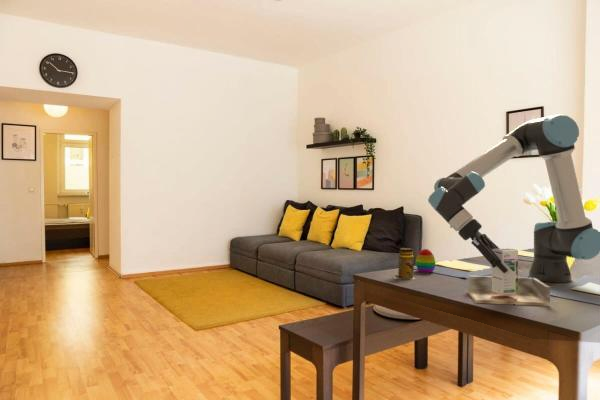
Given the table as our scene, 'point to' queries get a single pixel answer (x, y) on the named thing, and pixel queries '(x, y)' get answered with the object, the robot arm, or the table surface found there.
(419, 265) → the decorative egg
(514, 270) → the syrup box
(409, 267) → the condiment
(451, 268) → the table surface
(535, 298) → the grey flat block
